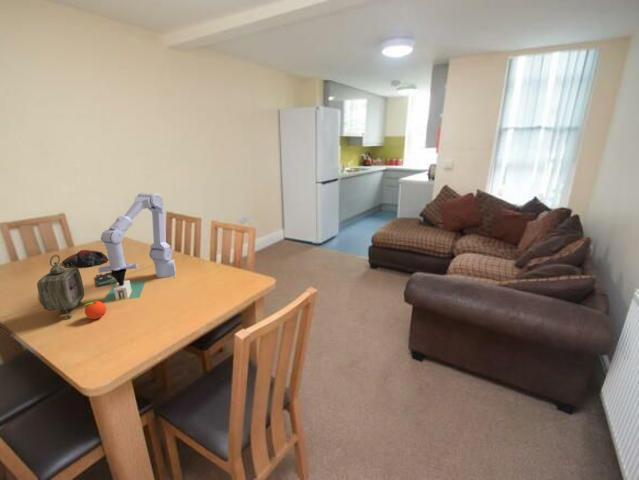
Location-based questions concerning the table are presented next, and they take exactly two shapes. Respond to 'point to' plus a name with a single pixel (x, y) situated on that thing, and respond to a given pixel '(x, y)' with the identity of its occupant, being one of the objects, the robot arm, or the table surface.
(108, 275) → the disk drive
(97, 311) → the clementine
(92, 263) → the drone shell
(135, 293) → the pin board
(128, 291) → the block
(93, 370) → the table surface
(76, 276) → the tabletop clock
